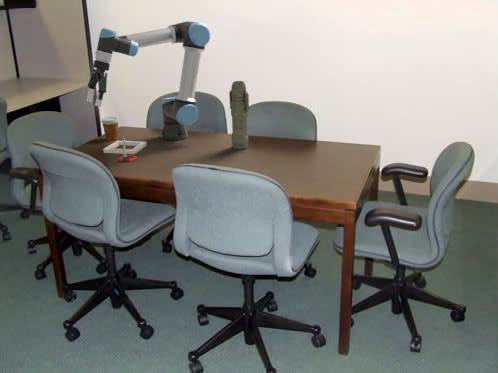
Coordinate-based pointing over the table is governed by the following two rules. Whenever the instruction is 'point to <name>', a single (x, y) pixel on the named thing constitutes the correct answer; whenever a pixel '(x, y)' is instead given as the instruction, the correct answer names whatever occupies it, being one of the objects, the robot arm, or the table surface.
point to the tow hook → (125, 156)
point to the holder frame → (138, 145)
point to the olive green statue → (239, 114)
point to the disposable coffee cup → (110, 128)
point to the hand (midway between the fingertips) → (93, 103)
